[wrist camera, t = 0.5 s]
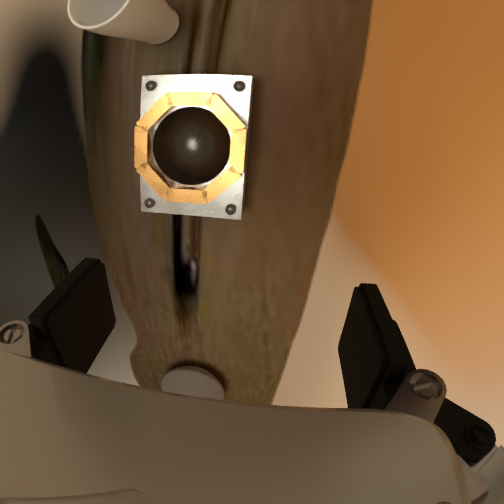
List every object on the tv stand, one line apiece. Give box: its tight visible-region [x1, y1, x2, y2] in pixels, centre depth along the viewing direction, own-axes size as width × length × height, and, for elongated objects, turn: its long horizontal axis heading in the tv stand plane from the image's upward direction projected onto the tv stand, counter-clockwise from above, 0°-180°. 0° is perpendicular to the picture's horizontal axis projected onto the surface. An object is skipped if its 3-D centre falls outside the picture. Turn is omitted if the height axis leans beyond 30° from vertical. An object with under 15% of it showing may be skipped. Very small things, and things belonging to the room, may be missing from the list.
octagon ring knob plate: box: [135, 74, 255, 220], centre depth 34 cm, size 16×12×6 cm
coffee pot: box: [161, 366, 224, 400], centre depth 50 cm, size 21×12×15 cm, turn 173°
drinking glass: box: [67, 0, 179, 45], centre depth 23 cm, size 7×7×15 cm
